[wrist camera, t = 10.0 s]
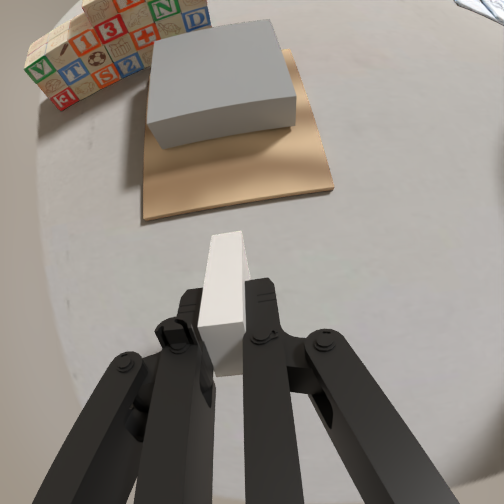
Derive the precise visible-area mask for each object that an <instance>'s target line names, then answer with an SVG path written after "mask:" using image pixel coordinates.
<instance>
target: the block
mask: <svg viewBox="0 0 504 504" xmlns="http://www.w3.org/2000/svg"><path fill="white" fill-rule="evenodd" d="M296 99H297V96H296V92H295V89H294V86H293V83H292V80H291V77H290V74H289V71H288V68H287V65H286V62H285V59H284V56H283V54H282V51H281V48H280V45H279V42H278V40H277V37H276V34H275V31H274V29H273V26H272V23H271V21H270V19H266V20H257V21H249V22H242V23H235V24H229V25H223V26H218V27H212V28H207V29H202V30H198V31H193V32H189V33H184V34H180V35H176V36H172V37H168V38H165V39H161V40H158V41H154V48H153V57H152V65H151V75H150V85H149V97H148V110H147V125H148V127H149V129H150V130H151V132H152V134H153V135H154V137H155V139H156V140H157V142H158V143H159V145H160V147H161V148H162V149H167V148H171V147H175V146H180V145H184V144H189V143H194V142H198V141H203V140H208V139H213V138H219V137H224V136H230V135H235V134H241V133H247V132H254V131H260V130H267V129H274V128H282V127H289V126H295V122H296Z"/></svg>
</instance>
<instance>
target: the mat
mask: <svg viewBox="0 0 504 504" xmlns="http://www.w3.org/2000/svg"><path fill="white" fill-rule="evenodd" d="M281 51H282V54H283V56H284V59H285V62H286V65H287V68H288V71H289V74H290V77H291V80H292V83H293V86H294V89H295V92H296V96H297V99H296V122H295V126H289V127H282V128H274V129H267V130H260V131H254V132H247V133H241V134H235V135H230V136H224V137H219V138H213V139H208V140H203V141H198V142H194V143H189V144H184V145H180V146H175V147H171V148H167V149H162V148H161V147H160V145H159V143H158V142H157V140H156V139H155V137H154V135H153V134H152V132H151V130H150V129H149V127H148V125H147V110H148V97H149V85H150V75H149V83H148V94H147V107H146V121H145V139H144V168H143V219H144V220H145V221H149V220H154V219H159V218H164V217H169V216H174V215H180V214H185V213H190V212H196V211H201V210H207V209H213V208H218V207H224V206H230V205H236V204H242V203H248V202H254V201H260V200H267V199H273V198H280V197H287V196H293V195H300V194H307V193H315V192H322V191H329V190H333V189H334V184H333V180H332V176H331V173H330V169H329V166H328V162H327V159H326V155H325V152H324V148H323V145H322V141H321V138H320V135H319V132H318V128H317V125H316V122H315V119H314V116H313V113H312V110H311V107H310V104H309V101H308V98H307V95H306V92H305V89H304V86H303V83H302V80H301V77H300V75H299V72H298V69H297V66H296V64H295V61H294V58H293V56H292V53H291V50H290V49H283V50H281Z"/></svg>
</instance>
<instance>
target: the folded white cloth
mask: <svg viewBox="0 0 504 504" xmlns="http://www.w3.org/2000/svg"><path fill="white" fill-rule="evenodd" d="M455 2H456V3H457V4H458V5H459V6H461V7H464V8H467V9H469V10H472V11H474V12H476V13H479V14H481V15H483V16H485V17H487V18H490V19H492V20H494V21H496V22H498V23H500V24H501V25H503V26H504V1H503V0H482V3H483V4H482V3H481V2H479V1H478V0H455Z"/></svg>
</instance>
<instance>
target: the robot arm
mask: <svg viewBox="0 0 504 504" xmlns="http://www.w3.org/2000/svg"><path fill="white" fill-rule="evenodd" d="M154 332H155V334H156V336H157V338H158V340H159V342H160V344H161V346H162V351H160V352H159V353H156V354H154V355H151V356H148V357H145V358H142V357H141V356H140V355H139V354H138V353H136V352H124V353H121V354H120V355H118V356H117V357H115V358H114V360H113V361H112V362H111V363H110V365H109V367H108V368H107V370H106V372H105V373H104V375H103V376H102V378H101V380H100V381H99V383H98V385H97V386H96V388H95V390H94V391H93V393H92V395H91V396H90V398H89V400H88V401H87V403H86V405H85V406H84V408H83V410H82V412H81V413H80V415H79V417H78V419H77V420H76V422H75V424H74V425H73V427H72V429H71V431H70V433H69V435H68V436H67V438H66V440H65V441H64V444H63V445H62V447H61V449H60V451H59V453H58V454H57V456H56V458H55V460H54V462H53V464H52V465H51V467H50V469H49V471H48V473H47V475H46V477H45V479H44V481H43V483H42V485H41V487H40V489H39V490H38V492H37V495H36V497H35V498H34V501H33V503H32V504H126V502H127V500H128V497H129V494H130V492H131V490H132V488H133V485H134V483H135V480H136V478H137V484H136V491H135V498H134V504H212V481H213V447H214V421H215V398H216V387H215V383H214V380H213V369H214V372H215V375H216V377H222V376H232V375H242V374H243V407H244V457H245V498H246V504H304V497H303V488H302V480H301V472H300V464H299V456H298V448H297V441H296V433H295V425H294V418H293V410H292V403H291V396H290V392H296V393H304V394H308V396H309V398H310V400H311V402H312V404H313V406H314V408H315V410H316V412H317V414H318V415H319V417H320V419H321V421H322V423H323V425H324V427H325V429H326V431H327V433H328V435H329V437H330V438H331V440H332V442H333V444H334V446H335V448H336V450H337V452H338V454H339V456H340V458H341V459H342V461H343V463H344V465H345V467H346V469H347V471H348V473H349V475H350V476H351V478H352V480H353V482H354V484H355V486H356V488H357V490H358V491H359V493H360V495H361V497H362V499H363V501H364V503H365V504H459V502H458V500H457V499H456V497H455V496H454V494H453V493H452V491H451V490H450V488H449V487H448V485H447V484H446V482H445V481H444V479H443V478H442V476H441V475H440V473H439V472H438V470H437V469H436V467H435V466H434V464H433V463H432V461H431V460H430V458H429V457H428V456H427V454H426V453H425V451H424V450H423V448H422V447H421V445H420V444H419V442H418V441H417V439H416V438H415V437H414V435H413V434H412V432H411V431H410V429H409V428H408V426H407V425H406V424H405V422H404V421H403V419H402V418H401V416H400V415H399V414H398V412H397V411H396V409H395V408H394V406H393V405H392V404H391V402H390V401H389V399H388V398H387V396H386V395H385V394H384V392H383V391H382V389H381V388H380V387H379V385H378V384H377V382H376V381H375V380H374V378H373V377H372V375H371V374H370V373H369V371H368V370H367V368H366V367H365V366H364V364H363V363H362V361H361V360H360V359H359V357H358V356H357V354H356V353H355V352H354V350H353V349H352V348H351V346H350V345H349V343H348V342H347V341H346V339H345V338H344V336H342V335H341V334H340V333H339V332H337V331H335V330H332V329H320V330H316V331H314V332H312V333H311V334H309V336H308V337H307V338H299V337H293V336H291V335H288V334H287V333H286V332H284V331H283V329H282V328H281V325H280V320H279V313H278V307H277V300H276V294H275V287H274V283H273V282H272V281H271V280H270V279H269V278H262V279H255V280H250V272H249V267H248V262H247V256H246V251H245V246H244V241H243V235H242V231H236V232H230V233H223V234H217V235H212V238H211V244H210V250H209V256H208V262H207V268H206V274H205V280H204V287H203V288H196V289H189V290H187V291H186V292H185V293H184V294H183V296H182V297H181V300H180V304H179V308H178V314H177V317H172V318H168V319H166V320H164V321H162V322H161V323H160V324H159V325H158V326H157V327H156V329H155V331H154ZM137 476H138V477H137Z"/></svg>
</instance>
